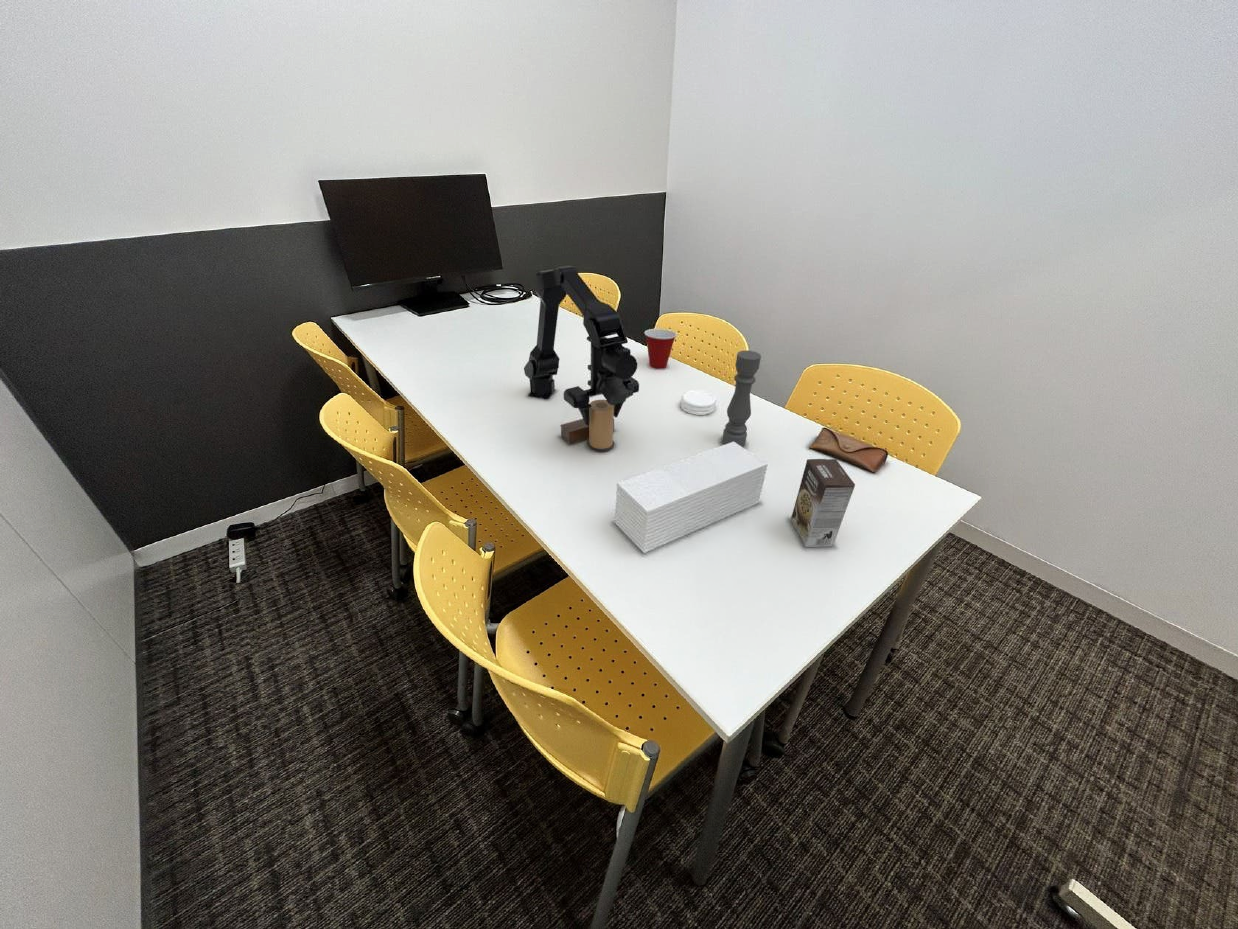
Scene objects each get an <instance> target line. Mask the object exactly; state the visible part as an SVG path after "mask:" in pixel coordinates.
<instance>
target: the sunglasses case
mask: <svg viewBox="0 0 1238 929" xmlns="http://www.w3.org/2000/svg"><path fill="white" fill-rule="evenodd" d="M808 448H809V449H811V450H813V451H814V450H815V451H818V452H821V453H823V454H826V455H827V456H831V457H833V458H834V459H838V460H840V461H842V462H845V463H847V464H850V465H852V466H855V467H857V468H860V469H862V470H866V471H870V472H872V473H877V472H878V471H879V470H880V469H881V468H882V467H883V466H884V465H885V463H886V462H887V459H888V456H889V451H888V450H886V449H884V448H882V447H878V446H874V445H872V444H870V443H867V442H864V441H861V440H860V439H856V438H854V437H851V436H849V435H846V434H842V433H839V432H836V431H834V430H832V429H830V428H828V427H822V428H821V430H820V432H819V433H818V435H817V436H816V438H815V440H814V441H813V443H812V444H811V445H809V446H808Z"/></svg>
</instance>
